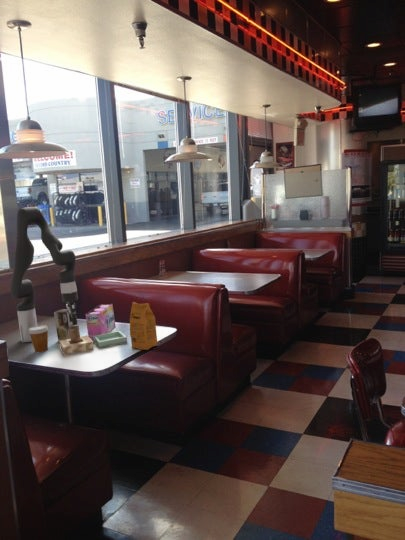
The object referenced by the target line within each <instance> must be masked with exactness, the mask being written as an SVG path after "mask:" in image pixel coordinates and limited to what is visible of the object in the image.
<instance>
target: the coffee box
mask: <svg viewBox="0 0 405 540" xmlns="http://www.w3.org/2000/svg"><path fill="white" fill-rule="evenodd" d="M73 314H75V313H73ZM53 316H54V322H55V328H56V329H55V330H56V335H57V336H56V337H57V341H58V342H60V341H61V340H66V339H71V337H70V330H69V326H70V325H73V324H72V322H70V320H69V314H68V312H67V308H66V309H65V308H61V309H58V310H56V311H54V312H53Z"/></svg>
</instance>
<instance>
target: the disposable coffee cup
mask: <svg viewBox="0 0 405 540" xmlns="http://www.w3.org/2000/svg"><path fill="white" fill-rule="evenodd" d="M48 331H49V328H48V326H47V325H45V324H43V325H42V324H40V325H37V326H34V327H31V328H29V334H30V336H31V340H32V341H31V343H32V346H33V349H34V353H37V352H39V353H44V352H46V351H48V350H49V347H48V346H49V343H48V342H49V341H48V340H49V339H48V338H49V336H48V335H49V334H48V333H49V332H48Z"/></svg>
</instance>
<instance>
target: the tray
mask: <svg viewBox="0 0 405 540" xmlns="http://www.w3.org/2000/svg"><path fill="white" fill-rule="evenodd" d="M93 343H95V345H96V346H97V347H98V348H99V349H102V348H108V347H113V346H116V345H117V346H118V345H123V344H127V343H128V338H127V335H125V334H124V333H123V332H122V331H121V330H115V331H112V332H111V331H110V332H108V333H106V334H101V335H96V336H93Z"/></svg>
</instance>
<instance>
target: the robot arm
mask: <svg viewBox="0 0 405 540" xmlns="http://www.w3.org/2000/svg"><path fill="white" fill-rule="evenodd" d="M29 226H37V227H38V228H39V229H40V232H41V233H40V238H41V242H42V244H43V245H44V246H45V247H46V249H47V250H48V252H49V254H50V256H51V258H52V261H53V263H54V264H55V265H56V266H58V267H62V266H64V269H62V270H60V271H59V273H58V275H59V283H60V287H59V288H60V295H61V301H62V302H64V303H66V305H65V306H66V309H67V312H68V314H69V320H70V322H72V324H73V325H77V324H78V319H77V317H78V311H77V305H76V303H75V301H78V300H79V295H78V288H77V284H76V283H77V282H76V279H75V267H76V259H77V258H76V255H75V252H74V251H73V250H72V249H65V250H62V249H63V248H64V247H63V243H62V242H61V240H60V238H58V236H56V235H55V233H54V232H53V230H52V229H51V227H50V224H49V223H48V221H47V219H46V217H45V216H44V214H43V212H42V211H41V210H40V208H39V207H37V206H28V207H21V208H18V211H17V213H16V241H15V242H16V245H15V250H14V252H15V253H14V263H13V272H12V276H11V281H10V289H9V291H10V294H11V295H10V296H11V297H12V298H13V299H22V301H21V302H20V303H18V304H17V305H16V311H17V312H16V313H17V319H18V328H19V334H20V339H21V340H20V341H21V343H30V342H31V343H32V340H31V336H30V334H29V328H31V327H34V326H38V321H37V320H38V319H37V313H36V308H35V305H36V304H35V303H36V300H35V299H36V298H35V288H34V285H33V283H32V282H33V281H31V280H30V279H23V278H24V276H25V274H26V272H27V271H28V270H29V268H30V267H31V265H32V264H33V261H34V256H35V247H34V245H33V243H32V241H31V239H30V238H29V235H28V228H29ZM73 313H75V314H73Z"/></svg>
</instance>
